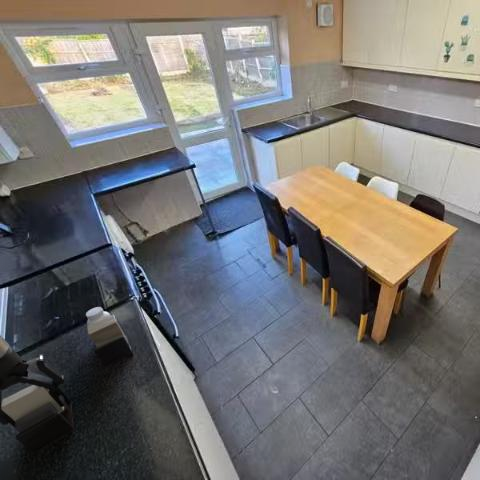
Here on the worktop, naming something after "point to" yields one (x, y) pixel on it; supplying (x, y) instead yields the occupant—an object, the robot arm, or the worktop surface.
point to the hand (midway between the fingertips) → (42, 413)
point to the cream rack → (109, 340)
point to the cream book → (27, 402)
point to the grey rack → (44, 426)
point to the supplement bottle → (96, 315)
